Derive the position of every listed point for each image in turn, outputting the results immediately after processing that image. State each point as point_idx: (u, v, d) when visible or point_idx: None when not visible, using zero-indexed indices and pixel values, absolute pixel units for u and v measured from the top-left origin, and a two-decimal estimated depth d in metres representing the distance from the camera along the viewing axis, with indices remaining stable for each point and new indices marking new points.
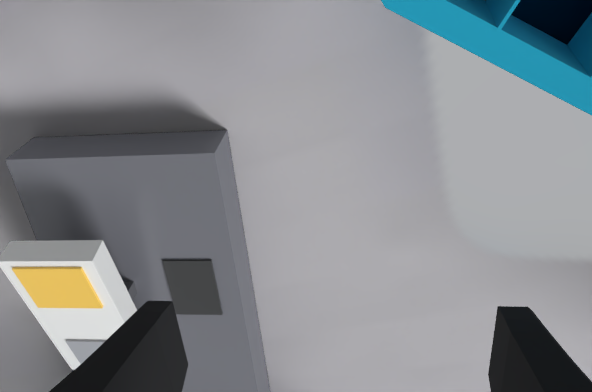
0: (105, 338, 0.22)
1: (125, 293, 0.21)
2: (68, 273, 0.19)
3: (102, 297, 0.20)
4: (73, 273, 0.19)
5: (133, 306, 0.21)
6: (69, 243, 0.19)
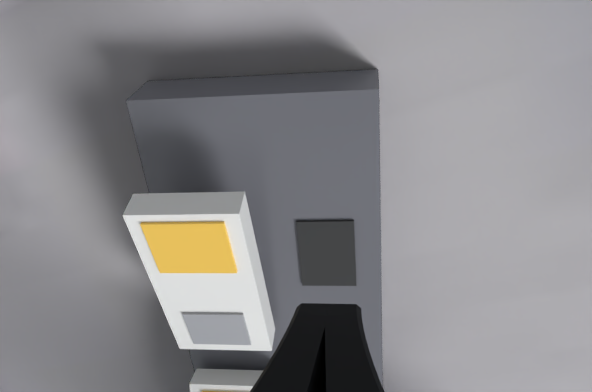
0: (229, 310, 0.19)
1: (257, 257, 0.18)
2: (207, 229, 0.16)
3: (238, 259, 0.17)
4: (211, 229, 0.16)
5: (262, 274, 0.19)
6: (205, 195, 0.17)
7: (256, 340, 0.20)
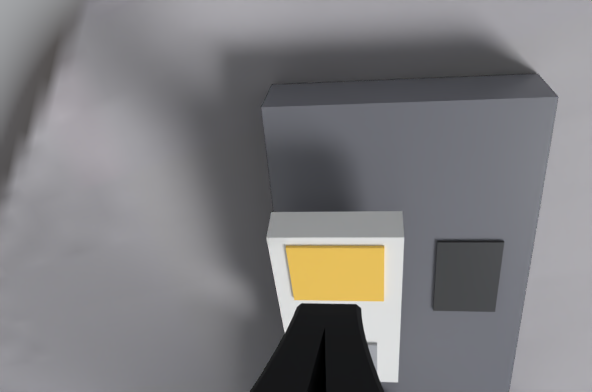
0: None
1: None
2: (362, 254, 0.14)
3: (389, 286, 0.15)
4: (367, 254, 0.14)
5: None
6: (357, 215, 0.15)
7: (383, 371, 0.18)
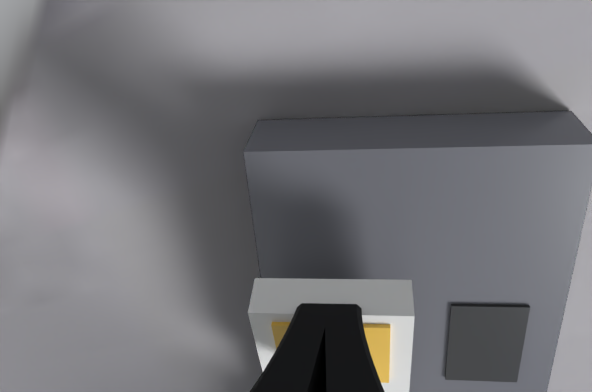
0: None
1: None
2: None
3: (395, 367, 0.13)
4: (369, 332, 0.12)
5: None
6: (357, 284, 0.12)
7: None
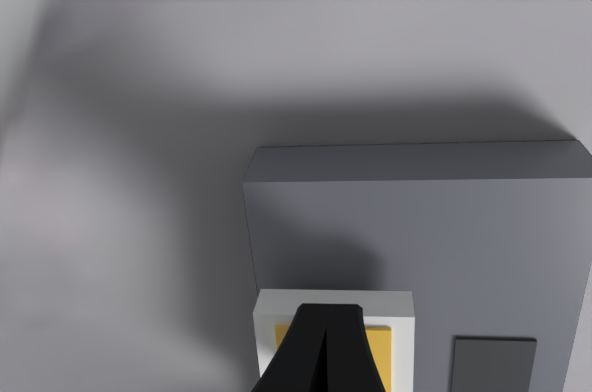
0: None
1: None
2: None
3: (397, 386, 0.13)
4: (371, 339, 0.12)
5: None
6: (359, 293, 0.13)
7: None
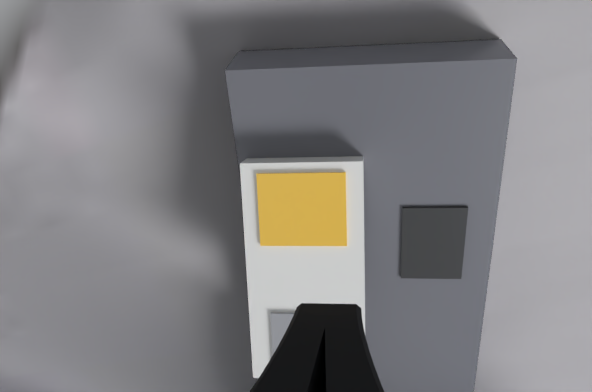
0: None
1: None
2: (326, 181, 0.16)
3: (351, 227, 0.16)
4: (330, 183, 0.16)
5: None
6: (323, 157, 0.16)
7: None
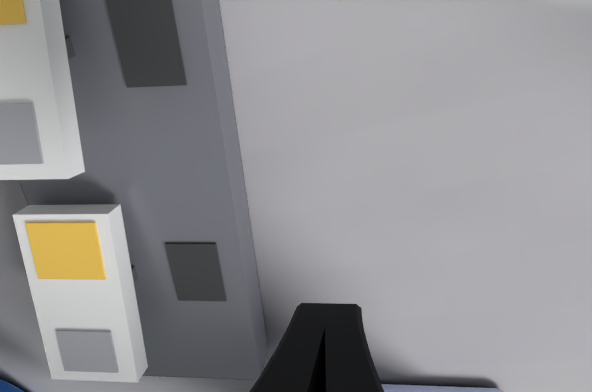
0: (18, 99, 0.16)
1: (60, 33, 0.16)
2: None
3: (28, 3, 0.15)
4: None
5: (67, 64, 0.16)
6: None
7: (49, 157, 0.16)
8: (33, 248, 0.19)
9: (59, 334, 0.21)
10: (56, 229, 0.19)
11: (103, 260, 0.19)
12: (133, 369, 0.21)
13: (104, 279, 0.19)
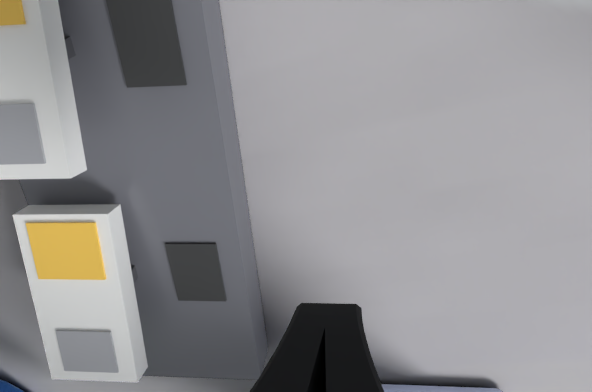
0: (19, 100, 0.16)
1: (60, 33, 0.16)
2: None
3: (27, 3, 0.15)
4: None
5: (67, 63, 0.16)
6: None
7: (51, 157, 0.16)
8: (33, 248, 0.19)
9: (59, 334, 0.21)
10: (56, 229, 0.19)
11: (103, 260, 0.19)
12: (133, 369, 0.21)
13: (104, 279, 0.19)
